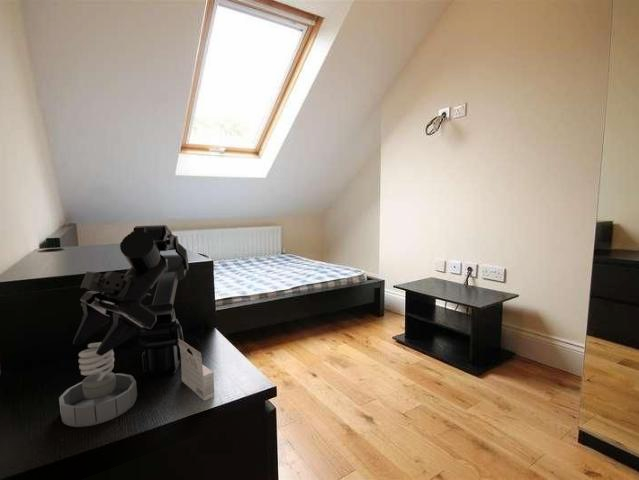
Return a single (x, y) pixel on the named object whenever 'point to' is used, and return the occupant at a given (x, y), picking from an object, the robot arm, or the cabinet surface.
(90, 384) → the light bulb
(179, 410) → the cabinet surface
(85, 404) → the bowl
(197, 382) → the ink cartridge box
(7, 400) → the cabinet surface
